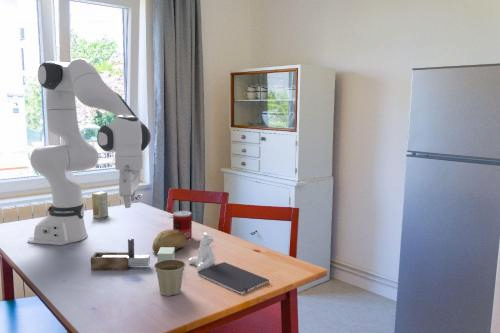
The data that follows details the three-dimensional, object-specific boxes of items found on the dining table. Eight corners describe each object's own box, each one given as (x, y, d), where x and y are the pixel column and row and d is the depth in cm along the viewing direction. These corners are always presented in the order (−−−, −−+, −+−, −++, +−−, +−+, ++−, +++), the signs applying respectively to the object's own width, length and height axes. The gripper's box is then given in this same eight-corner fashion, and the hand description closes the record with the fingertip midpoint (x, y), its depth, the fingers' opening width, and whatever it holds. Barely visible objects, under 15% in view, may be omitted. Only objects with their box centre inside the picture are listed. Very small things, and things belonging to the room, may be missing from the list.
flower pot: (156, 285, 134) (156, 259, 133) (186, 284, 135) (186, 258, 134) (152, 298, 125) (151, 270, 124) (184, 298, 126) (184, 270, 125)
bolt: (101, 266, 146) (100, 241, 145) (103, 263, 149) (102, 238, 148) (148, 266, 147) (147, 241, 146) (149, 263, 150) (149, 238, 148)
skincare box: (101, 214, 215) (100, 190, 213) (108, 215, 213) (107, 191, 211) (92, 217, 209) (91, 193, 207) (99, 218, 207) (98, 194, 205)
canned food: (193, 235, 184) (193, 211, 182) (189, 241, 176) (189, 216, 174) (176, 235, 185) (176, 210, 183) (171, 240, 177) (170, 215, 175)
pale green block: (157, 271, 145) (157, 253, 145) (160, 263, 152) (160, 247, 151) (172, 271, 146) (172, 253, 145) (174, 263, 152) (174, 247, 151)
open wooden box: (91, 270, 145) (90, 257, 144) (96, 264, 150) (95, 252, 150) (126, 270, 146) (126, 257, 145) (130, 264, 151) (130, 252, 150)
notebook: (268, 284, 138) (224, 266, 152) (269, 279, 138) (224, 261, 152) (241, 296, 129) (196, 276, 143) (241, 291, 129) (196, 271, 143)
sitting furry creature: (187, 263, 153) (186, 231, 151) (208, 258, 158) (208, 227, 156) (198, 272, 145) (198, 238, 144) (220, 267, 150) (221, 234, 148)
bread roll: (193, 248, 169) (193, 228, 168) (162, 258, 158) (162, 237, 157) (177, 242, 175) (177, 223, 174) (147, 251, 164) (146, 231, 163)
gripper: (134, 168, 133) (135, 211, 135) (142, 159, 153) (143, 197, 155) (113, 168, 132) (114, 212, 134) (124, 159, 152) (125, 197, 154)
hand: (130, 204), depth 145 cm, fingers open, 8 cm apart
